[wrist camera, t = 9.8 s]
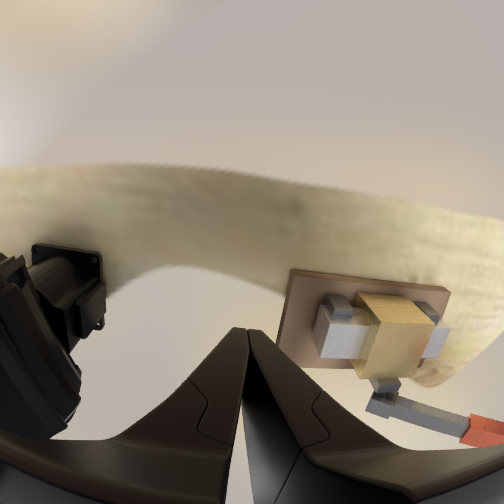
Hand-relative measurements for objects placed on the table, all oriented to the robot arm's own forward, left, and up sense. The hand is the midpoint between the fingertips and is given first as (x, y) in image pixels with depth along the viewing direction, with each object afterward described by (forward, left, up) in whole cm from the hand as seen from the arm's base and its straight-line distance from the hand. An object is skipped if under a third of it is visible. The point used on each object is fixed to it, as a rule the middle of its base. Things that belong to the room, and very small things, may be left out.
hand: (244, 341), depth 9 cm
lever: (+11, -9, -6) cm, 15 cm away
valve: (+11, -5, -12) cm, 17 cm away
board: (+11, -6, -13) cm, 18 cm away
